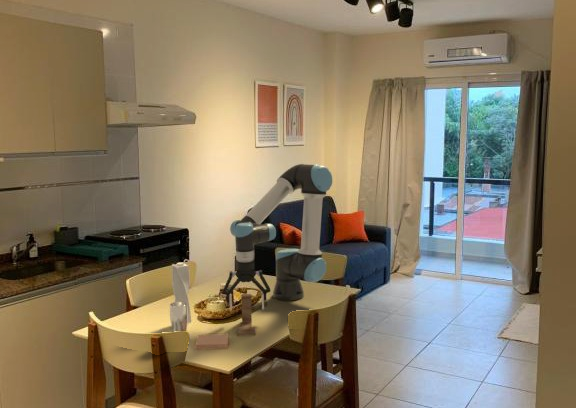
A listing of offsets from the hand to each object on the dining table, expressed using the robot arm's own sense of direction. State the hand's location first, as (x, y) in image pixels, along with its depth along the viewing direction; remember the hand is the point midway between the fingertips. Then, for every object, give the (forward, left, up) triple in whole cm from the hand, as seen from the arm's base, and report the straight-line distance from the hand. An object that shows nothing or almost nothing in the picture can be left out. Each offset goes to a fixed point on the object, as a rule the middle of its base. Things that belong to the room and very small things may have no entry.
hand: (247, 308), depth 238 cm
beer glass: (+26, +17, -6) cm, 32 cm away
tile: (+13, +16, -5) cm, 22 cm away
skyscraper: (+27, -2, -6) cm, 28 cm away
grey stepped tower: (0, +6, -6) cm, 9 cm away
